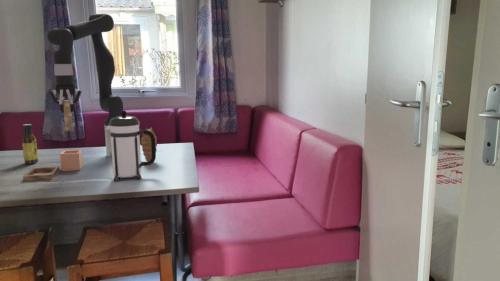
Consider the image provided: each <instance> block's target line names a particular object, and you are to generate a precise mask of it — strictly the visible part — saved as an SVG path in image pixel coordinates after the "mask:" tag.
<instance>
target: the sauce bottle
mask: <svg viewBox="0 0 500 281" xmlns="http://www.w3.org/2000/svg"><path fill="white" fill-rule="evenodd" d="M22 128H23V135H22V137H21V142H22V146H21V147H22V152H23V153H22V155H23V161H24V164H25V165H32V164H37V163H38V162H39V154H38V145H37V138H36V136H35V134H34V133H33V124H31V123H28V124H27V123H25V124H22Z"/></svg>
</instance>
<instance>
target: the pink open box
mask: <svg viewBox="0 0 500 281" xmlns="http://www.w3.org/2000/svg"><path fill="white" fill-rule="evenodd" d="M59 157H60V167H61V169H60V170H61V172H69V171H81V169H82V168H83V167H84V159H83V158H84V156H83V149H70V150H69V149H67V150H63V151H61V153H59Z"/></svg>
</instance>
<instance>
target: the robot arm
mask: <svg viewBox="0 0 500 281" xmlns="http://www.w3.org/2000/svg"><path fill="white" fill-rule="evenodd" d="M114 27H115V22H114V18H113V17H112V16H111V15H110V14H109V13H103V12H102V13H92V14H90V15H89V17H88V21H86V20H85V21H80V22H76V23H73V24H69V25H67V26H61V27H55V28H52V29H50V30H49V31H48V32H47V34H46V35H47V40H48V42H49V44H51V45H53V46H60V47H59V49H58V50H55V51H54V52H53V63H54V67H53V69H54V70H53V71H54V74H53V75H54V79H55V88H54V89H52V90H49V94H50V96H51V98H52V100H53V102H54V103H55V104H59V108H60V109H59V110H60V112H61V113H62V114H64V108H63V100H64V99H65V97H67V98H68V100H70V103H71V104H70V109H71V112H72V113H74V111H75V104H76V103H78V102H79V100H80V98H81V96H82V95H81V94H82V93H83V91H82V90H81V89H80V90H79V89H78V88H76V87H75V81H74V70H73V64H72V51H73V46H74V42H75V41H78V40H80V39H83V38H86V37H89V36H90V37H91V39H92V45H93V52H94V56H95V57H94V58H95V66H96V72H97V73H96V74H97V79H98V80H97V81H98V92H99V95H98V96H99V106H100V108H101V110H102V111H104V112H106V113H108V116H107V118H106V119H104V138H105V150H106V151H105V152H106V156H107V157H108V158H112V148H111V136H110V130H106V128H107V126H108V125H109V123H110V120H111V119H112V118H114V117H117V116H123V115H122V114H121V112H122V111H123V110H124V103H123V100H122V98H121V96H118V95H113V90H112V83H113V80H114V77H115V74H116V64H115V58H114V56H113V54H112V52H111V50H110V49H109V48H108V46H107V45H106V43H105V41H104V38H103V33H107V32H108V33H109V32H110V31H112V30H113V29H114ZM74 93H75V98H74V96H73V94H74ZM57 94H58V95H59V97H57Z"/></svg>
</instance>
